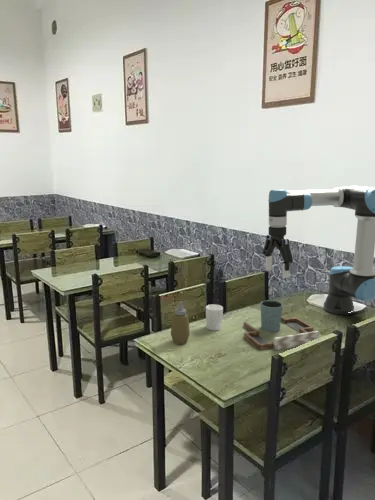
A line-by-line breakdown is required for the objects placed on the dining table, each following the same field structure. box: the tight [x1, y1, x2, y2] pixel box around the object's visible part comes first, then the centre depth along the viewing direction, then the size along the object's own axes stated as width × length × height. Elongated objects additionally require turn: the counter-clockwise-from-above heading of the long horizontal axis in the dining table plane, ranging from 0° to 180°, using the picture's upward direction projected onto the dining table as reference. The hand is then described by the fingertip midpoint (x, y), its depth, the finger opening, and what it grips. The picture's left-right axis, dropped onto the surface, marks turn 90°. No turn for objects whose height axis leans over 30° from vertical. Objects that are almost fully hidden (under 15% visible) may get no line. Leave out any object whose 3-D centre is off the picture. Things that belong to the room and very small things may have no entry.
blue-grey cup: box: [259, 299, 284, 333], centre depth 192 cm, size 10×10×12 cm
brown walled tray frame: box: [242, 316, 320, 351], centre depth 186 cm, size 33×26×5 cm
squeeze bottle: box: [170, 300, 191, 345], centre depth 175 cm, size 8×8×18 cm
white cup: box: [205, 303, 224, 331], centre depth 192 cm, size 8×8×10 cm
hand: (276, 273), depth 183 cm, fingers open, 13 cm apart
